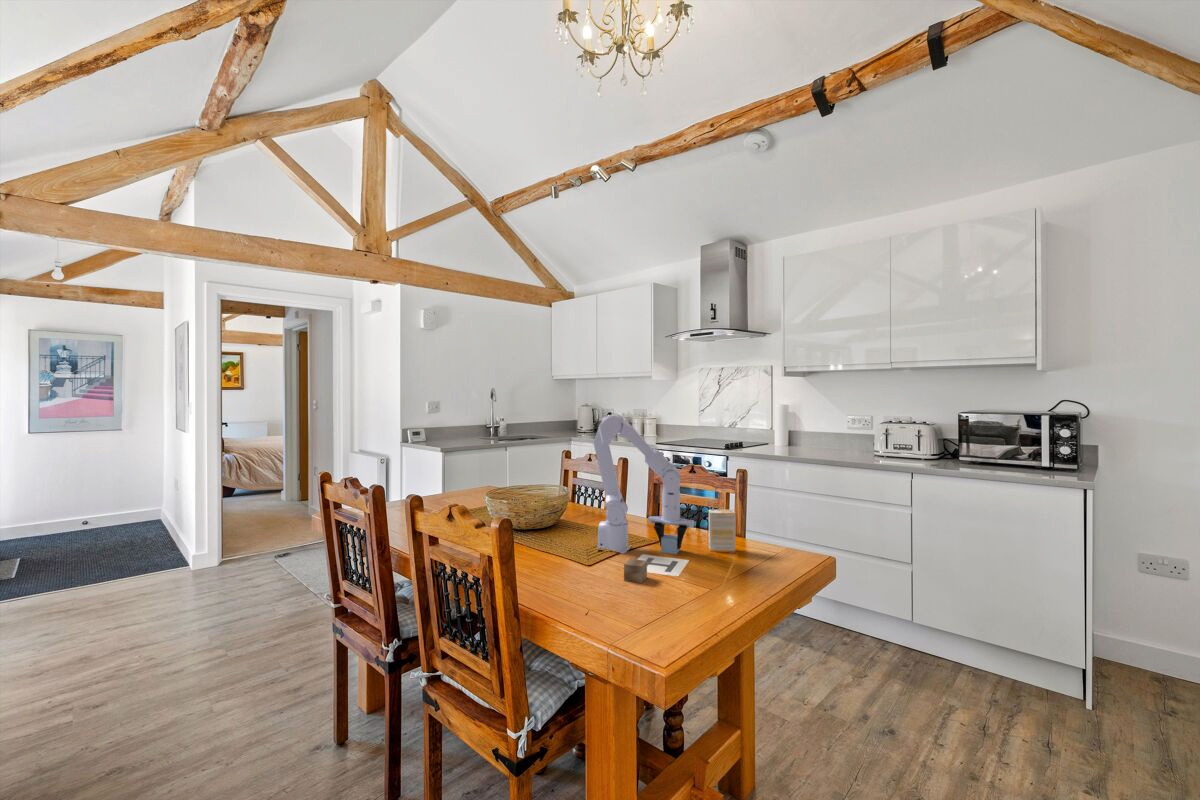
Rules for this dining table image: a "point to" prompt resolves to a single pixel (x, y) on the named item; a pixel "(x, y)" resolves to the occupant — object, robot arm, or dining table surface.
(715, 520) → the supplement box
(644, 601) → the dining table surface
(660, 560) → the letter board
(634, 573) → the walnut block
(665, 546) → the slate blue cube
